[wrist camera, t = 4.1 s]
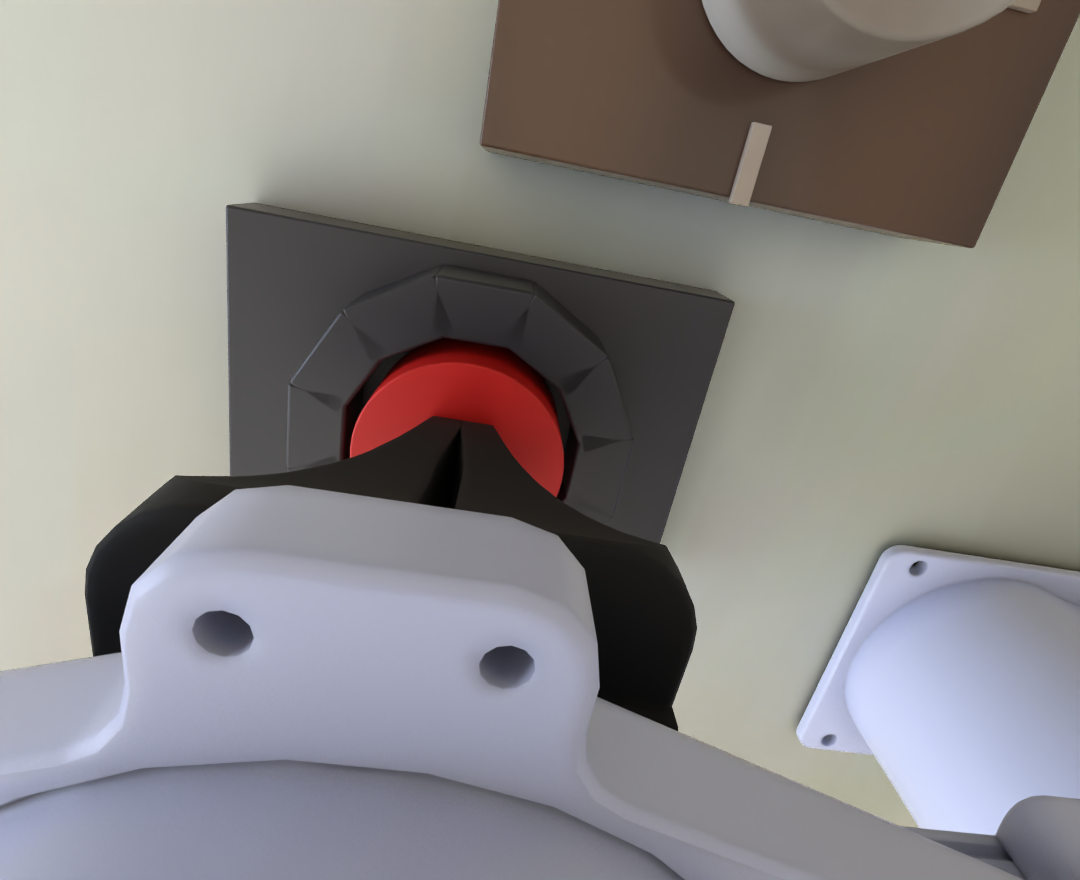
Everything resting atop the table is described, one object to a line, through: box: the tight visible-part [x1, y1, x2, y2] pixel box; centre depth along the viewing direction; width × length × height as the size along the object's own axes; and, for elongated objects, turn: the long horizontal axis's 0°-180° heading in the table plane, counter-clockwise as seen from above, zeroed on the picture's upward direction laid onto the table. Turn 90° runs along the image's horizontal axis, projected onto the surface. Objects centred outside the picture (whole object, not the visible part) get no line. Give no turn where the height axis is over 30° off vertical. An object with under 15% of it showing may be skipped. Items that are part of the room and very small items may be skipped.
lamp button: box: [350, 338, 564, 497], centre depth 13 cm, size 4×4×2 cm
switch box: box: [226, 203, 734, 544], centre depth 14 cm, size 11×8×3 cm
